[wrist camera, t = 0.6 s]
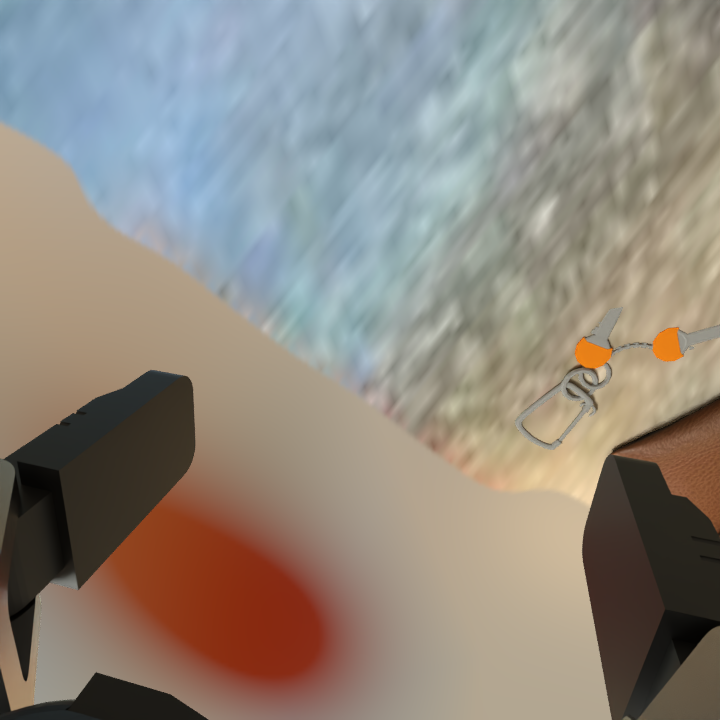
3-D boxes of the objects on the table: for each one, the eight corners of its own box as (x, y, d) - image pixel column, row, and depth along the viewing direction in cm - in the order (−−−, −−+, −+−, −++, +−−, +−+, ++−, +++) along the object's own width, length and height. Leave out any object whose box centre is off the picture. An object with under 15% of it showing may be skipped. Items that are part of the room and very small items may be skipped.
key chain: (582, 477, 37) (586, 485, 36) (496, 414, 35) (498, 420, 35) (742, 329, 32) (750, 334, 32) (650, 252, 31) (657, 255, 31)
